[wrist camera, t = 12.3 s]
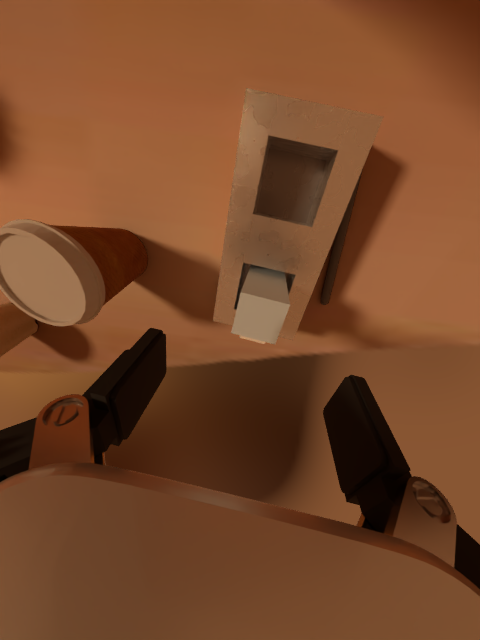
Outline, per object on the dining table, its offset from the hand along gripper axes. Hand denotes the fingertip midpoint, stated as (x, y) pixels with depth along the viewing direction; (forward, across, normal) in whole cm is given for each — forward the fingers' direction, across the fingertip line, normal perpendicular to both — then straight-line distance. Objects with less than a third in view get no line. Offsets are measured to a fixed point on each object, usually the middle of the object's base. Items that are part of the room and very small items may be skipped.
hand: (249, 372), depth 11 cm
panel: (+18, 0, -4) cm, 18 cm away
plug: (+17, 0, +1) cm, 17 cm away
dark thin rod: (+18, -8, -5) cm, 20 cm away
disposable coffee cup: (+18, +18, +2) cm, 26 cm away
